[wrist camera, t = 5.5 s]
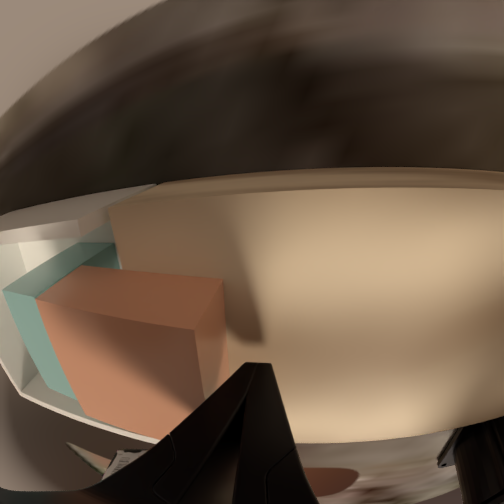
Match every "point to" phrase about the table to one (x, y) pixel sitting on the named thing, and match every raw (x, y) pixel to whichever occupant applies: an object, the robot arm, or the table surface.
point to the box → (34, 254)
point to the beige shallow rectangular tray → (345, 288)
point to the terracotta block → (138, 344)
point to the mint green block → (28, 315)
